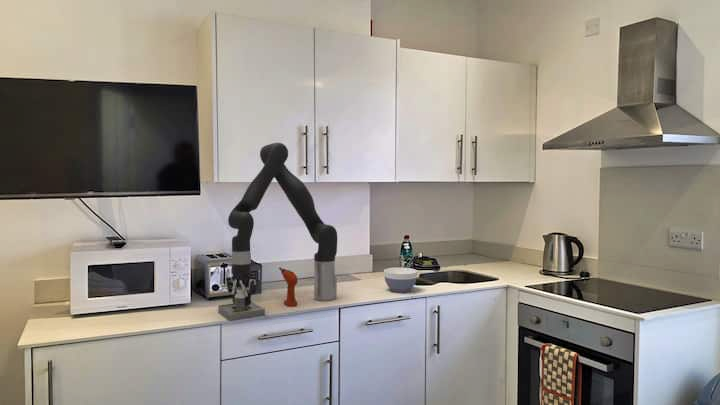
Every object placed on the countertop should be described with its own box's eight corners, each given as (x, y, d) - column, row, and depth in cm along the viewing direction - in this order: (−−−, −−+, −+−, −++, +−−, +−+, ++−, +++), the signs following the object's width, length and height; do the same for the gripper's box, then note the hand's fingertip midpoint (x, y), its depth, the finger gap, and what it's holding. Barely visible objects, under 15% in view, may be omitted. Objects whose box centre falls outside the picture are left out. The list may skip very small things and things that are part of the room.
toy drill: (283, 293, 230) (285, 261, 227) (299, 308, 213) (300, 273, 211) (273, 294, 227) (274, 262, 225) (288, 309, 211) (289, 275, 209)
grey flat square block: (251, 307, 211) (251, 300, 210) (264, 315, 199) (264, 308, 199) (218, 312, 203) (218, 305, 203) (230, 320, 191) (230, 313, 191)
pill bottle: (249, 314, 199) (249, 289, 199) (235, 315, 197) (235, 290, 197) (247, 310, 204) (247, 286, 204) (233, 311, 202) (233, 287, 202)
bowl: (422, 289, 246) (423, 269, 245) (407, 295, 232) (407, 275, 232) (394, 285, 254) (394, 266, 254) (377, 291, 241) (377, 271, 241)
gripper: (261, 262, 200) (262, 304, 201) (233, 259, 206) (233, 300, 207) (249, 265, 193) (249, 308, 194) (220, 262, 200) (221, 304, 201)
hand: (241, 304), depth 201 cm, fingers closed on pill bottle, 5 cm apart
